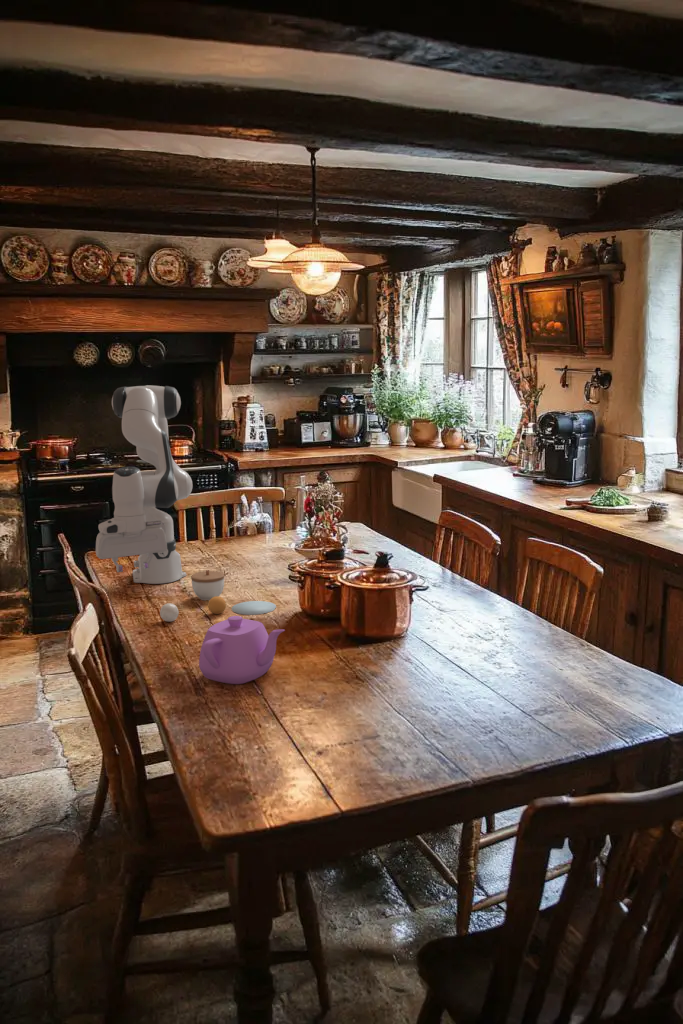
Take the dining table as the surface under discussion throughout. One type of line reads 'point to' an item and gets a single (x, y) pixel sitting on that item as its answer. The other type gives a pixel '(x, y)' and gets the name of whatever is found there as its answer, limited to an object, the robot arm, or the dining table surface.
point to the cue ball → (169, 612)
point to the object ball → (217, 605)
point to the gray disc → (253, 607)
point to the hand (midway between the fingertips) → (133, 569)
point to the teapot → (237, 650)
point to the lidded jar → (207, 584)
